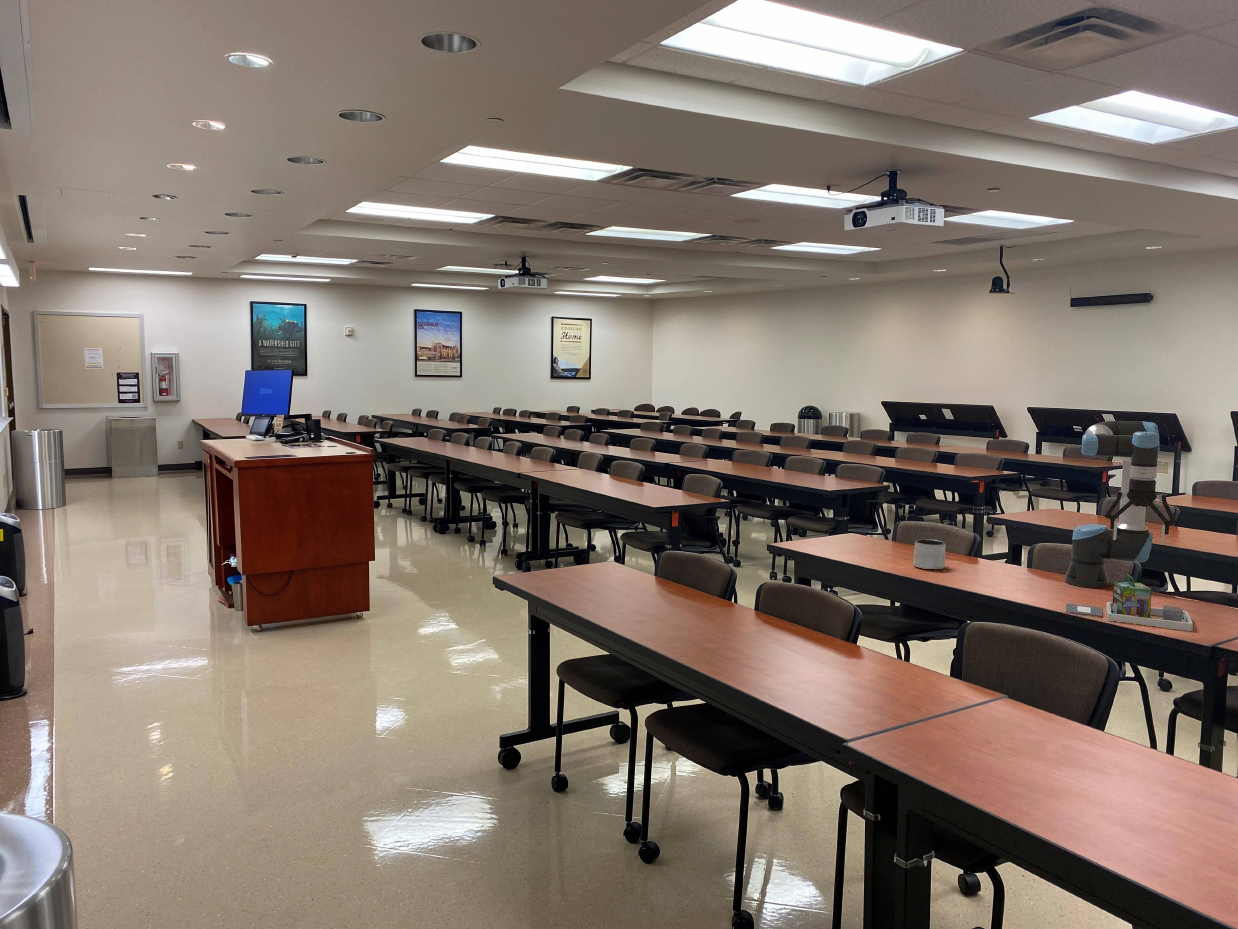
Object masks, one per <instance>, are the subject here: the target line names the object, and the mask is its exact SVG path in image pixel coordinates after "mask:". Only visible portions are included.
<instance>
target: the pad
mask: <svg viewBox="0 0 1238 929" xmlns="http://www.w3.org/2000/svg"><path fill="white" fill-rule="evenodd" d="M1065 609H1066V610H1065V613H1066V612H1070V613H1077V614H1076V615H1078V614H1082V615H1081V616H1086V615H1091V616H1090V617H1094V616H1098V617H1097V618H1103V610H1102V607H1100V606H1093V605H1092V606H1091V605H1084V604H1083V605H1082V604H1076V603H1075V604H1074V603H1066V608H1065ZM1070 613H1069V614H1070Z"/></svg>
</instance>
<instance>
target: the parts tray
mask: <svg viewBox="0 0 1238 929" xmlns="http://www.w3.org/2000/svg"><path fill="white" fill-rule="evenodd" d="M1112 604H1113V601H1112V602H1111V601H1106V604H1105V605H1106V607H1105V610H1106V620H1108V621H1107V622H1113V621H1116V622H1115V623H1121V622H1126V623H1125V624H1128V623H1134V624H1133V625H1136V624H1141V625H1140V626H1144V625H1146V626H1147V627H1152V626H1155V628H1160V627H1162V628H1163V629H1168V630H1169V629H1170V630H1179V631H1184V632H1193V626H1194V623H1193V620H1192V619H1191V617H1190V614H1189V612H1188V610H1187V611H1186V610H1182V611H1183V612H1182V620H1183V621H1182V622H1178V621H1170V620H1162V618H1161V619H1160V618H1153V617H1150V618H1145V617H1137V616H1129V615H1121V614H1112ZM1150 616H1156V617H1157V616H1158V617H1163V607H1153V606H1151V613H1150ZM1162 628H1161V629H1162Z"/></svg>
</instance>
